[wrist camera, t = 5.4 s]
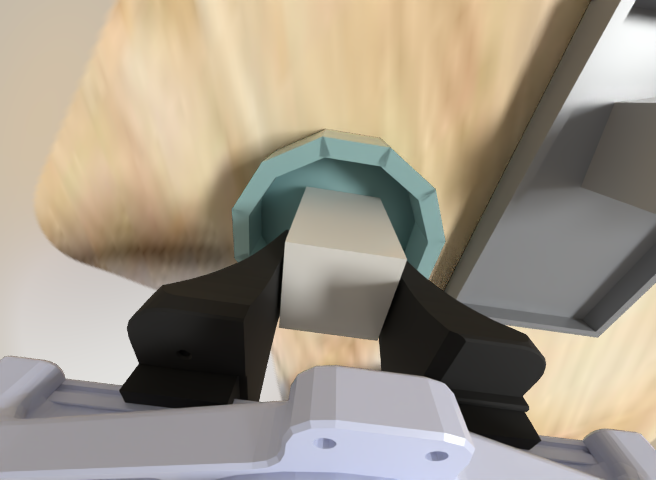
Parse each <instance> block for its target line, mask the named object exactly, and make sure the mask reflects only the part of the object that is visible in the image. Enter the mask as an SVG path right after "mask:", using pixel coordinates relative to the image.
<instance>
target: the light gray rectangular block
mask: <svg viewBox="0 0 656 480" xmlns="http://www.w3.org/2000/svg"><path fill="white" fill-rule="evenodd" d="M581 187H582V188H585V189H587V190H590V191H593V192H596V193H599V194H601V195H604V196H607V197H610V198H612V199H615V200H618V201H621V202H624V203H626V204H629V205H632V206H635V207H637V208H640V209H643V210H646V211H649V212H651V213H654V214H656V97H655V98H647V99H639V100H631V101H622V102H615V103H614V106H613V108H612V111H611V113H610V116H609V118H608V121H607V123H606V126H605V128H604V131H603V133H602V136H601V138H600V141H599V143H598V146H597V148H596V151H595V153H594V155H593V158H592V160H591V163H590V165H589V168H588V170H587V173H586V175H585V178H584V180H583V183H582V185H581Z"/></svg>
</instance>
